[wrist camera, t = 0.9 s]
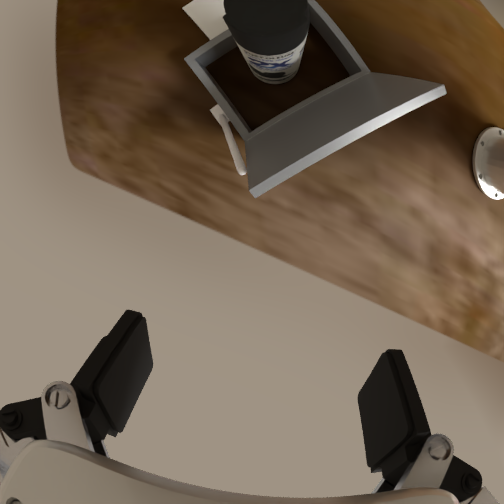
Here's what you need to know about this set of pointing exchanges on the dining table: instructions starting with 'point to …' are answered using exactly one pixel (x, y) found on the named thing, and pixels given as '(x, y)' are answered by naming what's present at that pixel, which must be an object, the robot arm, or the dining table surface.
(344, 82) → the case
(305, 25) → the spray can
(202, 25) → the pad
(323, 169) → the dining table surface
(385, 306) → the dining table surface
